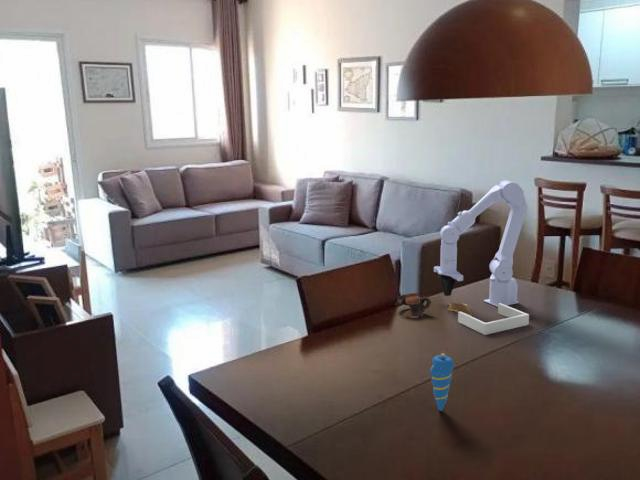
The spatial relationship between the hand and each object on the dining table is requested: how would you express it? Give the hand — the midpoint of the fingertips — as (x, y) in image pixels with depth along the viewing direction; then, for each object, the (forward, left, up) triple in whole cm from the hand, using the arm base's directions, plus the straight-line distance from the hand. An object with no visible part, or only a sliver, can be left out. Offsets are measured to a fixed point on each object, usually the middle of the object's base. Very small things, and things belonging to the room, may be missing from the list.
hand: (447, 295), depth 207 cm
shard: (0, +9, -4) cm, 10 cm away
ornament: (+49, +61, -3) cm, 78 cm away
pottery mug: (+17, +3, -3) cm, 17 cm away
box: (0, +23, -3) cm, 23 cm away
